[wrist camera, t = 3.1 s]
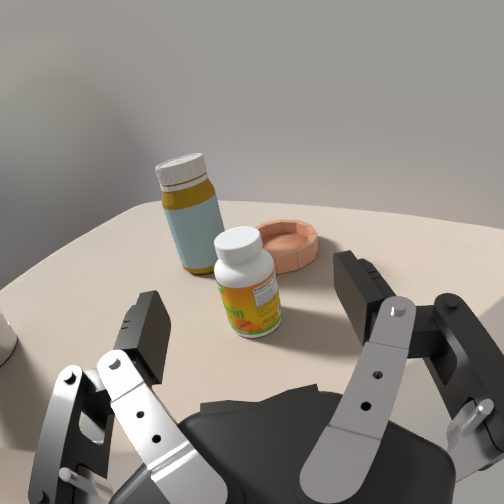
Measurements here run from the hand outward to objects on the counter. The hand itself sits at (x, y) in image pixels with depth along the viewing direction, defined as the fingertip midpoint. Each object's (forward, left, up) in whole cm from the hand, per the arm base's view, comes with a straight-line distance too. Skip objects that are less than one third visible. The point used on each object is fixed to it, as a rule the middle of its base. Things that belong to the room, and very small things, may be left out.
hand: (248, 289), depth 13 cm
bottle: (+19, +18, -13) cm, 29 cm away
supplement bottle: (+10, +6, -13) cm, 17 cm away
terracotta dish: (+23, +8, -13) cm, 27 cm away
